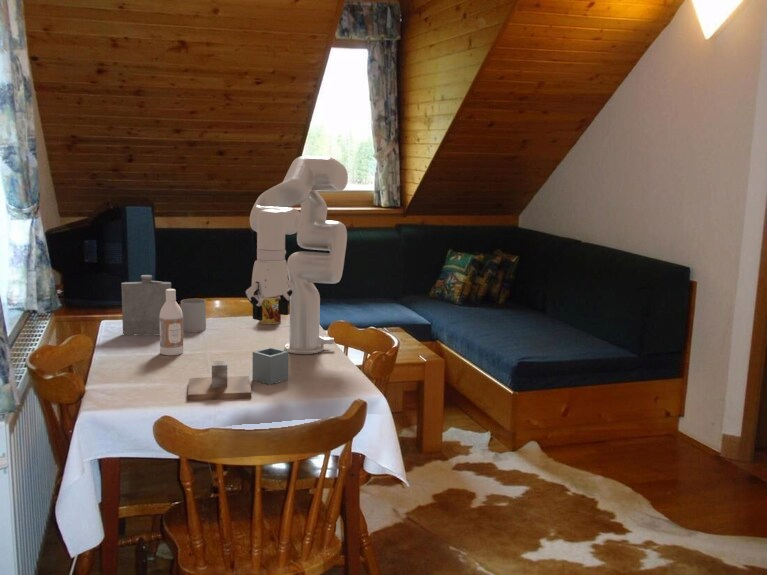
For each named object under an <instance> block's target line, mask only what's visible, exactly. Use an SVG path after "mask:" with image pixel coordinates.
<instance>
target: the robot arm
mask: <svg viewBox="0 0 767 575" xmlns="http://www.w3.org/2000/svg"><path fill="white" fill-rule="evenodd" d="M348 180H349V176H348V171H347V168H346V167H345V165H343V164H342V163H341V162H340V161H338V159H335V158H333V157H329V156H315V155H314V156H313V155H312V156H311V155H302V156H298V157H296V158H295V159H294V160H293V161H292V162H291V164H290V166H289V168H288V170H287V172H286V175H285V177H284V179H283V180H282V182H280V183H278V184H277V185H274V186H272V187H271V188H268V189H267V190H265V191H264V192H262V193H261V194H260V195H259V196H258V198H257V199H256V201H255V203H254V204H253V206H252V209H251V212H250V215H249V224H250V228H251V229H252V230H253V232H256V241H257V242H256V246H257V247H256V260H255V261H254V264H253V268H252V275H251V286H249V287H248V288H247V289H246V290H245V295H246V297H247V300H248V302H250V305H251V306H252V319H253V320H254V321H255V320H256V321H258V322H259V321H261V320H262V315H263V307H262V306H260V305H261V304H262V302H263V300H264V298H271V297H276V296H279V297H280V299H281V300H280V299H279V301H278V313H279V314H281V315H282V316H288V315H289V336H288V337H289V338H288V340H289V342H287V343H286V344H285V345H283V346H284V349H283V350H284V351H288V352H289V353H290V354H296V355H297V354H298V355H312V354H313V353H314V354H318V352H319V353H322V352H323V351H324V349H325V345H334V344H335V338H334V337H329V336H328V337H326V336H324V337H322V336H321V334H320V318H321V317H320V313H321V312H320V310H321V308H320V307H321V305H320V304H321V297H320V296H321V295H320V292H319V290H318V289H317V287H316V285H315V283H317V284H329V285H331V284H332V285H333V284H337V283H339V282H340V281H341V279H342V276H343V271H344V265H345V257H346V250H347V242H348V231H347V227H346V225H345V224H344V223H342V222H341V221H338V220H327V217H328V206H327V205H328V204H327V203H326V200H324V198H323V197H322V196H321V195H320V193H319V192H320V191H322V192H323V191H325V192H342V191H344V190H345V188H347V185H348V182H349V181H348ZM318 191H319V192H318ZM297 205H300V211H299V210H297V209H296V208H294V206H297ZM294 234H296V242H297V245H298V246H299V247H300V248H302V249H306V250H314V251H296V252H293V253H292V254H290V255H289V257H288V259H287V260H286V254H287V250H286V235H290V236H291V235H294ZM315 250H317V251H329V252H315ZM314 354H313V355H314Z"/></svg>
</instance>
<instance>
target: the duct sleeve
mask: <svg viewBox="0 0 767 575" xmlns="http://www.w3.org/2000/svg"><path fill="white" fill-rule="evenodd" d="M289 353H290V352H288V351H286V350H285V349H280V348H275V347H271V346H270V347H266V348H261V349H259V350H255V351H252V379H254V380H253V381H256V380H257V381H256V382H259V381H260V383H262V382H264V383H263V384H265V383H267V384H266V385H269V384H272V385H274V384H273V383H275V384H278V383H280V382H279V381H281V382H283V381H282V380H284V381H287V380H286V379H288V380H289ZM277 382H278V383H277Z"/></svg>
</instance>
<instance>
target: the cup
mask: <svg viewBox="0 0 767 575" xmlns="http://www.w3.org/2000/svg"><path fill="white" fill-rule="evenodd" d="M180 308H181V310H182V314H183V332H185V331H188V332H187V333H199V331H200V332H204V331H206V330H207V300H206V299H202V298H186V299H182V300H180Z"/></svg>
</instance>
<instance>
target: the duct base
mask: <svg viewBox="0 0 767 575" xmlns="http://www.w3.org/2000/svg"><path fill="white" fill-rule="evenodd" d="M187 386H188V388H187V401H203V400H204V401H205V400H208V399H210V400H228V399H231V400H232V399H252V388H251V381H250V376H249V375H242V376H241V375H240V376H239V375H238V376H237V375H236V376H228V361H227V360H215V361H214V360H213V361H211V376H209V377H208V376H206V377H189V378H188V385H187Z"/></svg>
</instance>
